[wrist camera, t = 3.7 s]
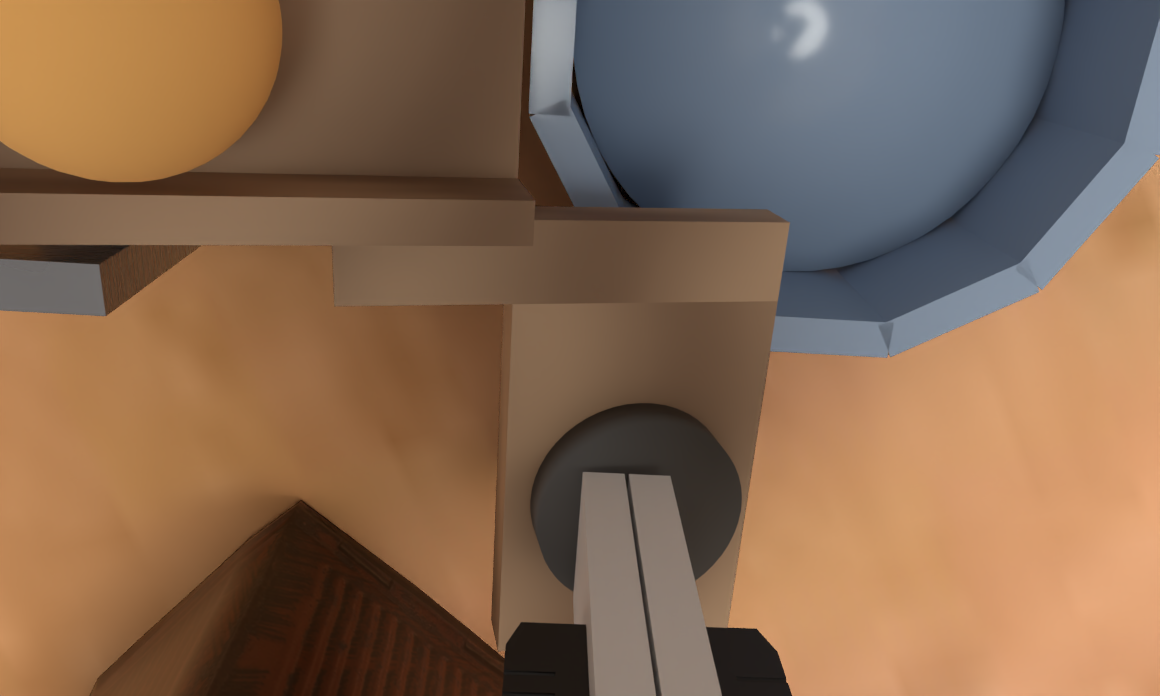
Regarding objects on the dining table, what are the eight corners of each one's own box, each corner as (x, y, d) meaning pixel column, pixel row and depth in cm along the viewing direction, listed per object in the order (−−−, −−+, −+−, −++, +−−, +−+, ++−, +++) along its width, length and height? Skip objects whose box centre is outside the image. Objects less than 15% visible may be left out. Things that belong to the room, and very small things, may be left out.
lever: (-498, 711, 16) (-750, 931, 12) (-993, -347, 10) (-1725, -517, 7) (711, 599, 21) (785, 732, 17) (818, -146, 15) (962, -179, 12)
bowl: (552, -316, 19) (550, -389, 15) (1158, -264, 19) (1303, -323, 15) (524, 280, 23) (518, 337, 20) (1013, 308, 24) (1096, 369, 20)
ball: (309, -135, 13) (5, -158, 12) (207, -183, 9) (-230, -218, 9) (320, 160, 14) (49, 144, 14) (236, 226, 10) (-135, 205, 10)
